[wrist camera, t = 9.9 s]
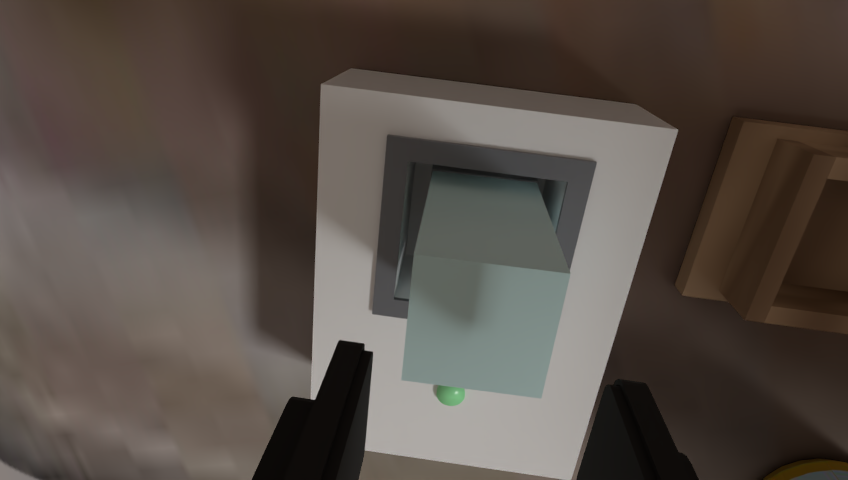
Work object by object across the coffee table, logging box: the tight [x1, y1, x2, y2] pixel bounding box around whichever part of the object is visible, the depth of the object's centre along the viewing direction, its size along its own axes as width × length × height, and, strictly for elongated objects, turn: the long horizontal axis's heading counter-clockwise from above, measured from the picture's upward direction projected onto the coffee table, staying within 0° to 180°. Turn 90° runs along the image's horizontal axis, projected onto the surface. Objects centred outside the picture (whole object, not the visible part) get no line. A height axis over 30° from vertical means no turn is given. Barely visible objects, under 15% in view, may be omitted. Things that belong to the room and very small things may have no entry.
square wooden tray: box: [675, 117, 848, 334], centre depth 22 cm, size 10×8×4 cm
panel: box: [311, 68, 678, 480], centre depth 23 cm, size 12×16×5 cm
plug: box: [401, 164, 571, 399], centre depth 19 cm, size 4×4×10 cm
